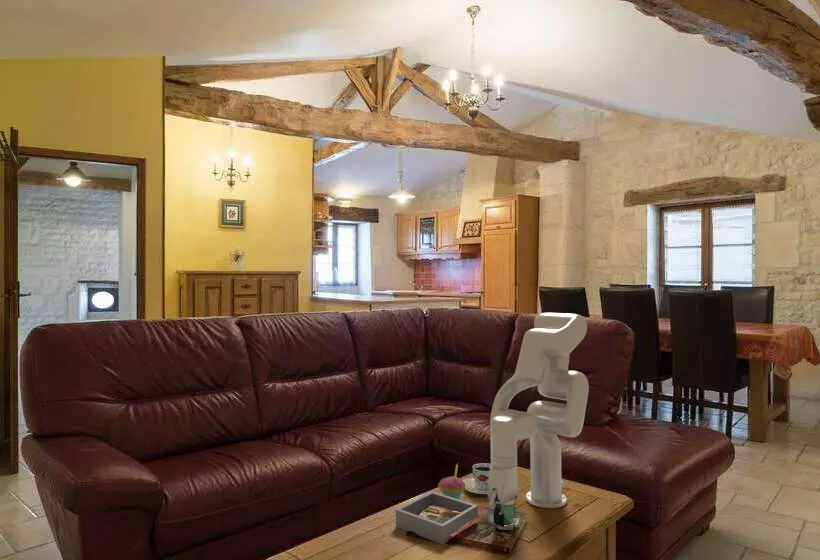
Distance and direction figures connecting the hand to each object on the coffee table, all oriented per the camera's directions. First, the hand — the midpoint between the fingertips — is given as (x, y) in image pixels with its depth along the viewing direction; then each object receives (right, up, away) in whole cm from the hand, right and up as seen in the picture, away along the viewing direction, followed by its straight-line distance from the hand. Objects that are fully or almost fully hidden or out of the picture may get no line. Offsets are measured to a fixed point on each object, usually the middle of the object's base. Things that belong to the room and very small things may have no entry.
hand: (504, 522), depth 162 cm
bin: (-19, -1, +2) cm, 19 cm away
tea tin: (0, -1, 0) cm, 1 cm away
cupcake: (-14, -1, +19) cm, 24 cm away
